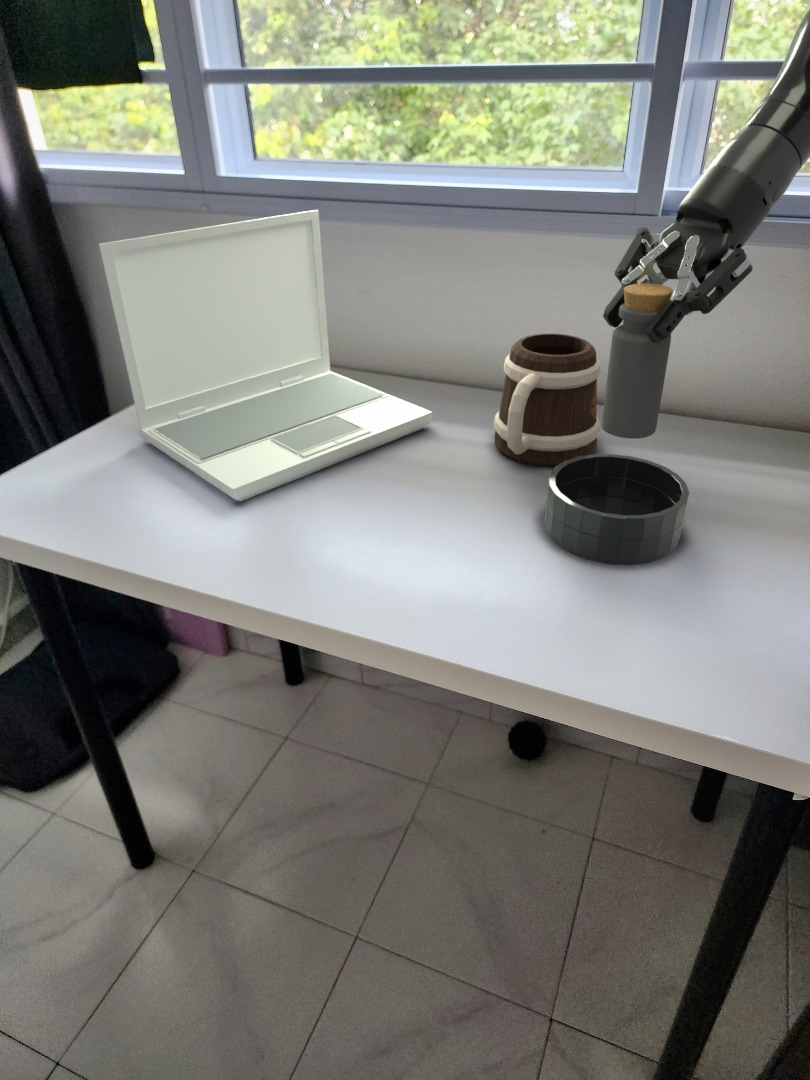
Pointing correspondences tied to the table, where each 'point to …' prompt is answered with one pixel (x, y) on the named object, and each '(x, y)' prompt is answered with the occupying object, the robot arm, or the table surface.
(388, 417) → the laptop
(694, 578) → the table surface
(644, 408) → the bottle
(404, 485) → the table surface
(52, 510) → the table surface
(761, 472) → the table surface
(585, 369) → the mug
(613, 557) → the pot
